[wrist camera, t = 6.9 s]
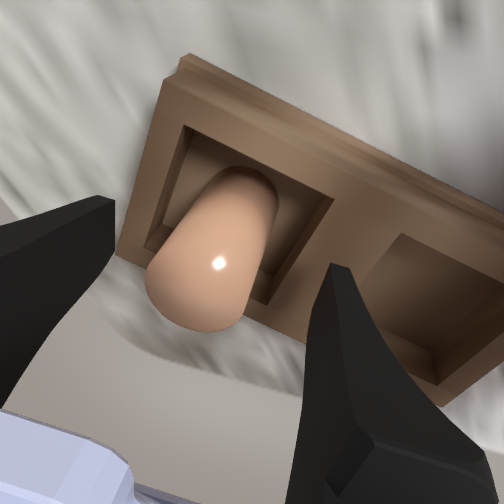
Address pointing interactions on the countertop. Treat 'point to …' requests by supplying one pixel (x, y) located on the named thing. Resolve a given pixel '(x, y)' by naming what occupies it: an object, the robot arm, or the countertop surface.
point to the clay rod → (215, 252)
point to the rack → (331, 224)
